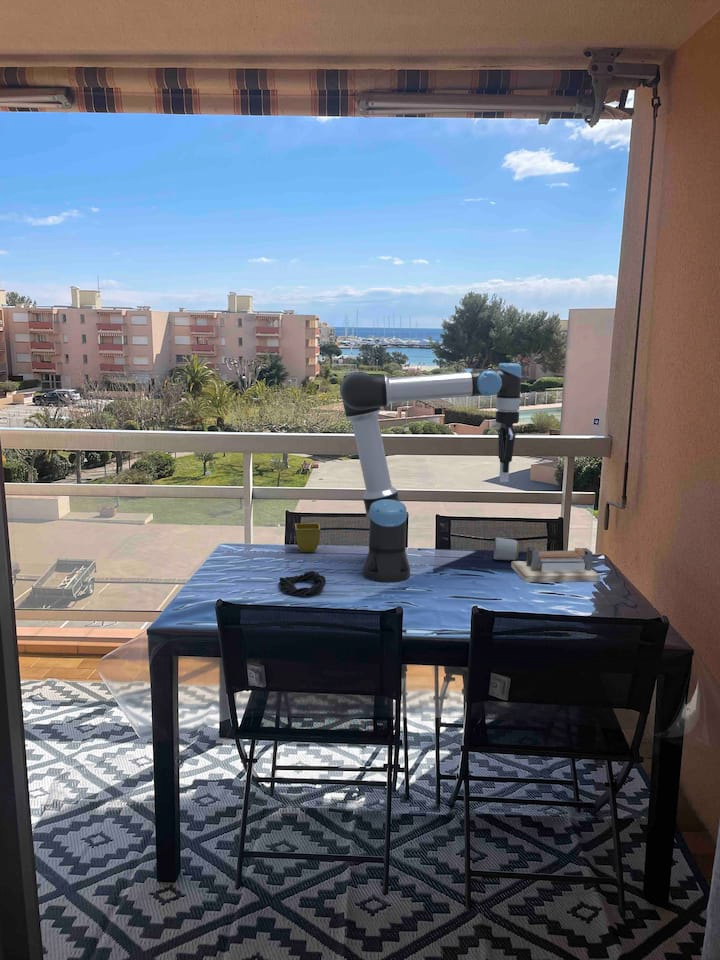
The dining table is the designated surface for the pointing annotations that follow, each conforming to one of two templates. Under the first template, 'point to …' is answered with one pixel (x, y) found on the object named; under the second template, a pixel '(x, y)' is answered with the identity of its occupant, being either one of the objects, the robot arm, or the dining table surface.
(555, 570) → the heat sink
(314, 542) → the flower pot
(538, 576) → the board
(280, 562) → the dining table surface
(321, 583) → the cable
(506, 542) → the ceramic mug
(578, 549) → the strap
